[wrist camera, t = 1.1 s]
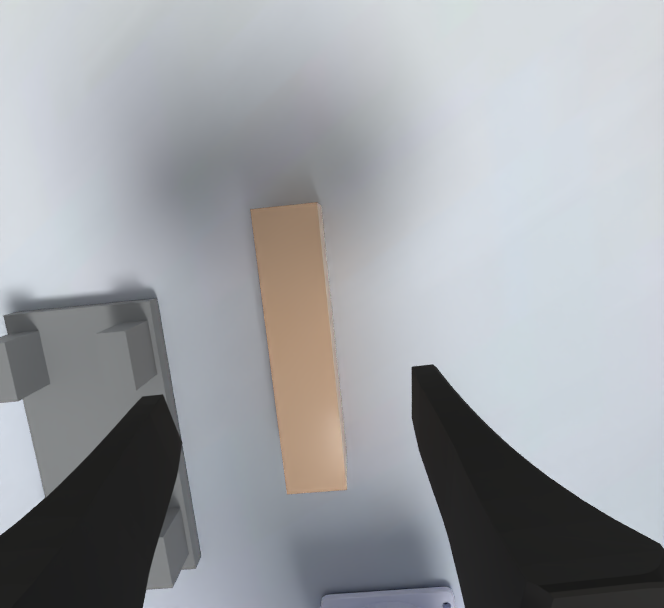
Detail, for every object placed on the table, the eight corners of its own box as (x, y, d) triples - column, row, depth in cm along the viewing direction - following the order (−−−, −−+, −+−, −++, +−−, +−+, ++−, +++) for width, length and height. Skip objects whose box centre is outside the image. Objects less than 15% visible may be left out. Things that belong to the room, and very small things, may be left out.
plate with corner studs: (201, 556, 27) (180, 603, 24) (73, 565, 28) (35, 613, 24) (157, 298, 25) (126, 309, 21) (17, 312, 25) (-36, 325, 22)
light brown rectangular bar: (346, 450, 26) (346, 489, 22) (295, 454, 26) (287, 494, 22) (321, 206, 24) (316, 202, 20) (265, 211, 24) (250, 209, 20)
